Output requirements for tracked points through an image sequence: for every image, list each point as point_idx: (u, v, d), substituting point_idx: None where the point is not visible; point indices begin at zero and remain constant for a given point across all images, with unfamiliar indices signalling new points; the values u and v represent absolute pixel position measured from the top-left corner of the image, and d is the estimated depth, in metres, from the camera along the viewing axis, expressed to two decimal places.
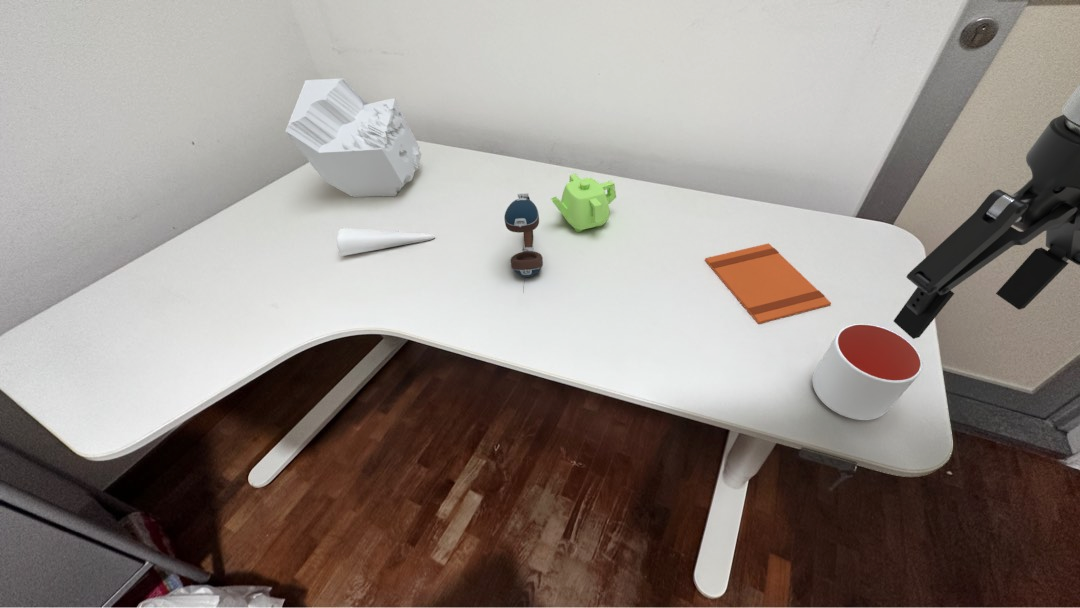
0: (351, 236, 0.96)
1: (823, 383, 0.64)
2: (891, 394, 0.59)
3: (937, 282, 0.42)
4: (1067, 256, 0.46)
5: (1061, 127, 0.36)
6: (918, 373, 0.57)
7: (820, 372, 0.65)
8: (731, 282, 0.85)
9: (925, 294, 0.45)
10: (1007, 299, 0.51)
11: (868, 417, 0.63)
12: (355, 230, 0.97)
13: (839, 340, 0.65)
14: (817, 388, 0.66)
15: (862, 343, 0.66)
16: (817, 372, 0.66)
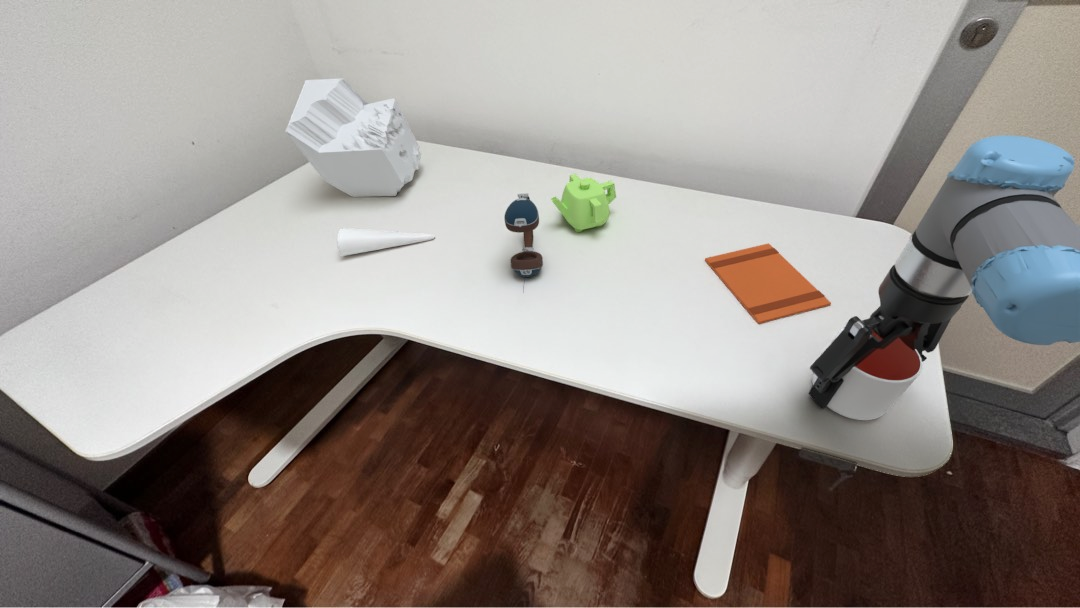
0: (351, 236, 0.96)
1: None
2: (891, 394, 0.59)
3: (827, 376, 0.59)
4: None
5: (895, 275, 0.52)
6: (918, 373, 0.57)
7: None
8: (731, 282, 0.85)
9: None
10: None
11: (868, 417, 0.63)
12: (355, 230, 0.97)
13: None
14: None
15: None
16: None
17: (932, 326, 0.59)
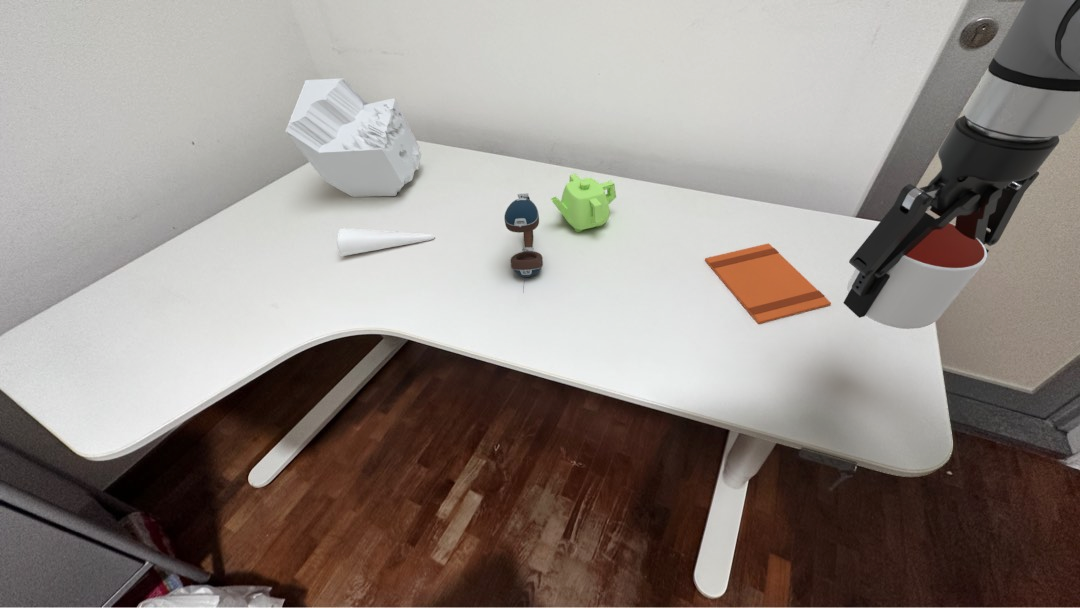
0: (351, 236, 0.96)
1: None
2: (949, 289, 0.49)
3: (871, 266, 0.49)
4: None
5: (962, 125, 0.42)
6: (983, 260, 0.48)
7: None
8: (731, 282, 0.85)
9: (866, 277, 0.51)
10: None
11: (917, 324, 0.53)
12: (355, 230, 0.97)
13: None
14: None
15: None
16: (854, 277, 0.56)
17: (999, 207, 0.49)
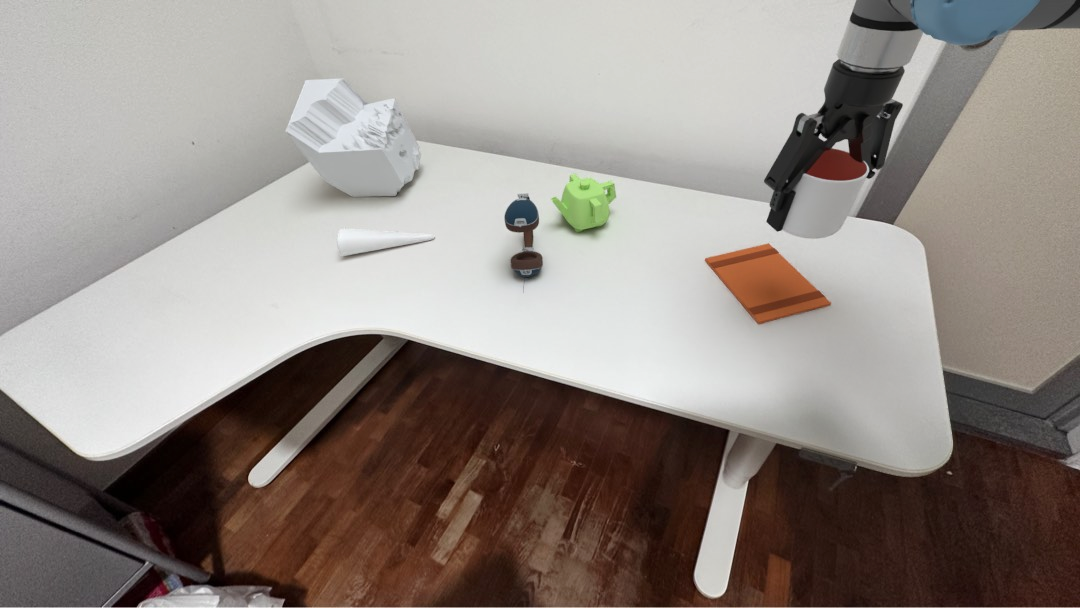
0: (351, 236, 0.96)
1: None
2: (840, 199, 0.62)
3: (778, 182, 0.62)
4: None
5: (837, 64, 0.55)
6: (864, 175, 0.60)
7: None
8: (731, 282, 0.85)
9: (777, 194, 0.64)
10: None
11: (820, 233, 0.66)
12: (355, 230, 0.97)
13: None
14: None
15: (817, 171, 0.69)
16: None
17: (878, 135, 0.62)
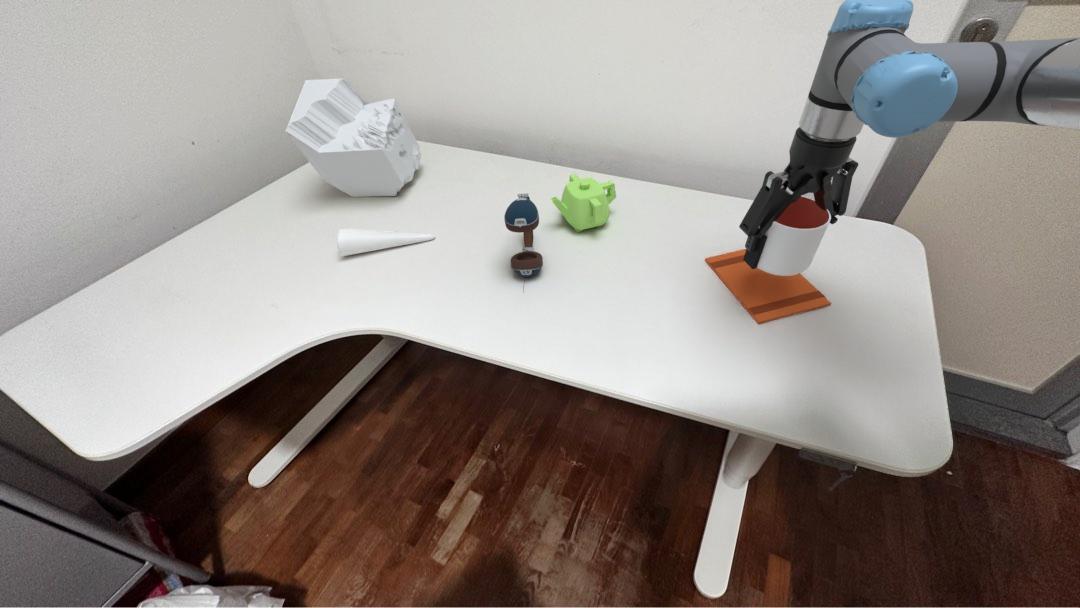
0: (351, 236, 0.96)
1: None
2: (805, 244, 0.70)
3: (751, 229, 0.70)
4: None
5: (799, 131, 0.63)
6: (826, 224, 0.69)
7: None
8: (731, 282, 0.85)
9: (751, 238, 0.73)
10: None
11: (790, 271, 0.74)
12: (355, 230, 0.97)
13: None
14: None
15: (788, 214, 0.77)
16: None
17: (839, 187, 0.70)
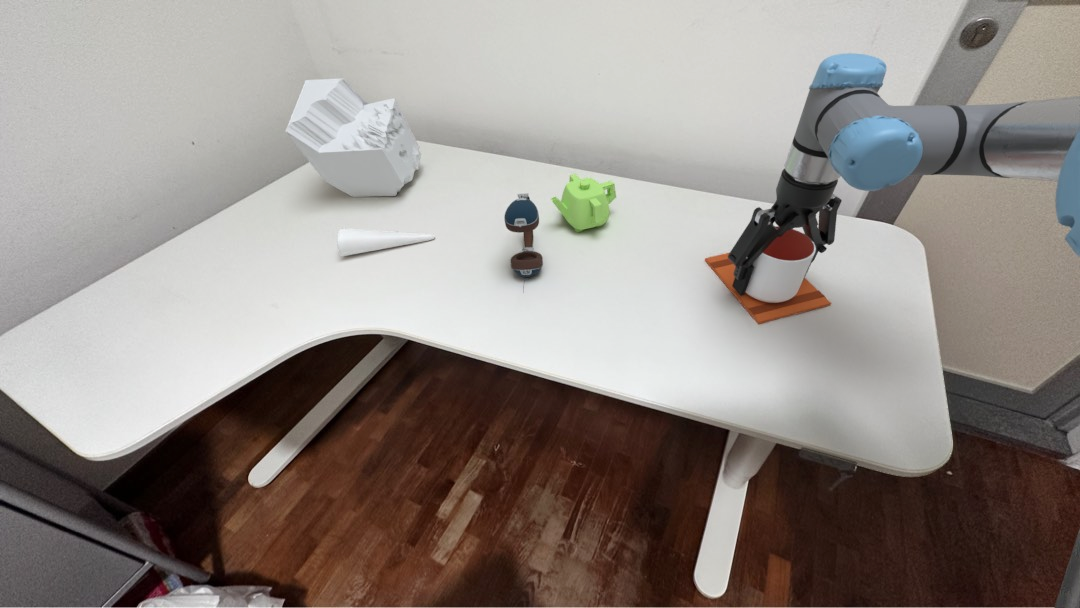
0: (351, 236, 0.96)
1: None
2: (792, 274, 0.74)
3: (738, 260, 0.74)
4: None
5: (784, 172, 0.68)
6: (811, 255, 0.73)
7: None
8: (731, 282, 0.85)
9: (739, 267, 0.77)
10: None
11: (778, 299, 0.78)
12: (355, 230, 0.97)
13: None
14: None
15: (777, 244, 0.82)
16: None
17: (825, 220, 0.74)
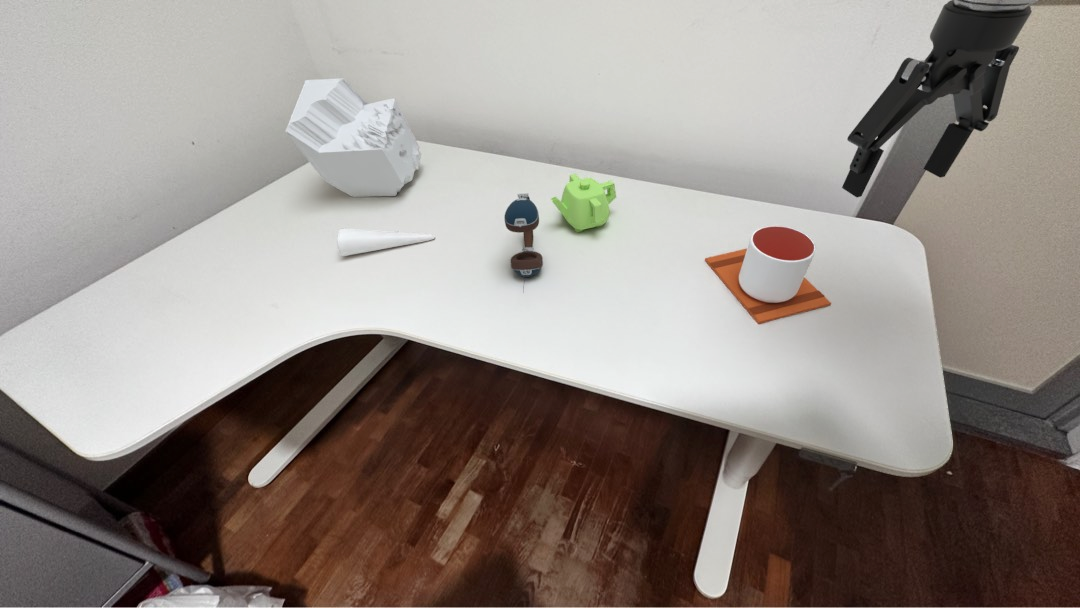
0: (351, 236, 0.96)
1: (744, 275, 0.80)
2: (792, 274, 0.74)
3: (869, 137, 0.55)
4: (971, 125, 0.59)
5: (950, 5, 0.49)
6: (811, 255, 0.73)
7: (742, 267, 0.81)
8: (731, 282, 0.85)
9: (862, 153, 0.57)
10: (931, 171, 0.64)
11: (778, 299, 0.78)
12: (355, 230, 0.97)
13: (757, 241, 0.81)
14: (741, 281, 0.82)
15: (777, 244, 0.82)
16: (741, 268, 0.82)
17: (989, 84, 0.55)
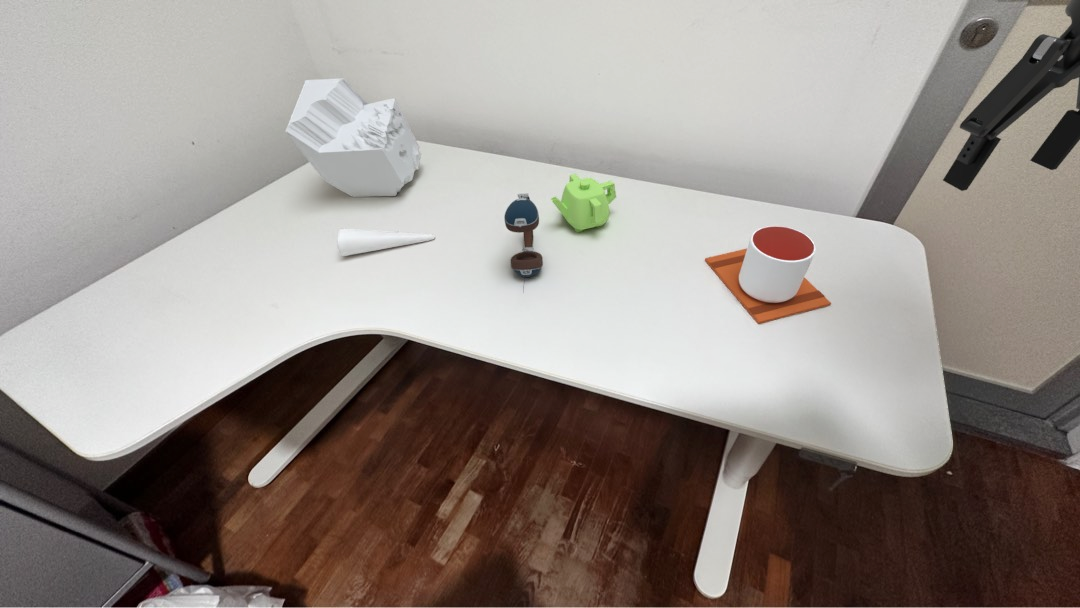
0: (351, 236, 0.96)
1: (744, 275, 0.80)
2: (792, 274, 0.74)
3: (988, 123, 0.49)
4: None
5: None
6: (811, 255, 0.73)
7: (742, 267, 0.81)
8: (731, 282, 0.85)
9: (975, 142, 0.52)
10: (1041, 163, 0.59)
11: (778, 299, 0.78)
12: (355, 230, 0.97)
13: (757, 241, 0.81)
14: (741, 281, 0.82)
15: (777, 244, 0.82)
16: (741, 268, 0.82)
17: None
